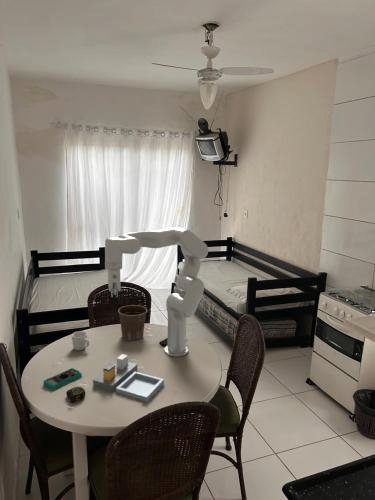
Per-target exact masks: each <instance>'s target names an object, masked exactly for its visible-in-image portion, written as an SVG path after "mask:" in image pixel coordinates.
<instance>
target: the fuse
mask: <svg viewBox="0 0 375 500" xmlns="http://www.w3.org/2000/svg"><path fill="white" fill-rule="evenodd" d="M128 359H129V355H127V354H124V353H122V354H120V355H119V356H118V357H116V362H117V369H120V370H124V369H125V368H126V367H127V366H128V362H129V360H128Z"/></svg>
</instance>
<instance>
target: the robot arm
mask: <svg viewBox="0 0 375 500" xmlns="http://www.w3.org/2000/svg"><path fill="white" fill-rule="evenodd" d="M177 245H178V246H180V250H181V253H182V255H183V258H184V263H183V267H182V269H181V271H180V273H179V277H178V278H177V281H176V288H177V290H179V292H182V293H184V294H185V295H184V294H182V293H179V292H173V293H170V294H169V295H168V296H167V298H166V302H165V303H166V304H165V306H166V312H167V345H166V346H165V347H164V353H165V354H166V355H168V356H169V357H177V358H178V357H183V356H185V355H187V354H188V353H189V347H188V346H187V344H186V343H187V342H188V338H187V318H190V317H192V316H193V315H194V314H195V313H196V311H197V309H198V306H199V304H200V303H201V302H200V301H201V299H202V296H203V293H204V292H205V291H204V289H205V284H204V282H203V280H202V279H200V278H199V277H198V276H199V273H200V269H201V260H203V259H205V258H206V257H207V256H208V253H209V248H208V247H209V246H208V245H207V244H206V242H204V241H203V240H202V239H201V238H200V237H199V236H197V234H195V233H194V232H192V231H191V230H190V229H187V228H183V227H170V228H169V227H168V228H164V229H157V230H146V231H137V232H136V231H135V232H128V233H127V232H126V233H123V234H120V235H118V237H117V236H111V237H107V238H106V239H105V241H104V269H105V270H107V285H108V298H109V299H110V306H112V307H115V306H119V293H118V292H121V289H122V288H121V270H122V269H123V254H124V255H125V254H126V255H128V254H129V255H134V254H137V253H139V251H140V250H141V248H148V249H149V248H150V249H162V248H166V247H172V246H177Z"/></svg>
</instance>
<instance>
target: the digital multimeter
mask: <svg viewBox="0 0 375 500" xmlns="http://www.w3.org/2000/svg"><path fill="white" fill-rule="evenodd" d="M80 378H82V373H81V371H80V370H78V369H75V368H73V367H72V368H69V369H68V370H65V371H63V372H60V373H58V374H56V375H54V376H52V377H49V378H47V379H45V380H43V386H44V387H45V388H46V389H48V390H51V391H56V390H57V389H59V388H61V387H63V386H65V385H67V384H70V383H72V382H74V381H76V380H78V379H80Z"/></svg>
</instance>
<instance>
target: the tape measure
mask: <svg viewBox="0 0 375 500" xmlns="http://www.w3.org/2000/svg"><path fill="white" fill-rule="evenodd" d="M66 397H67V398H69V401H70V403H71V404H74V403H76V402H81V401H82V400H83V399H84V398H85V397H86V390H85V388H84V387H82V386H74V387H73V388H69V389H68V390H66Z"/></svg>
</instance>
